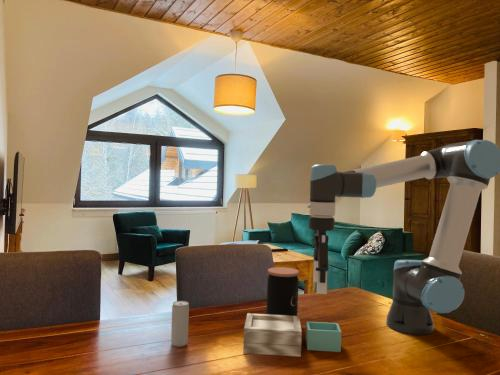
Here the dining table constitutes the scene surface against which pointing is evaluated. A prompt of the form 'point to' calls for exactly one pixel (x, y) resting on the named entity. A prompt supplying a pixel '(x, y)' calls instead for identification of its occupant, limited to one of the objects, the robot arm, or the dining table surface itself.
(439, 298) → the robot arm
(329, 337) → the teal crate
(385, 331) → the dining table surface
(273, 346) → the beige crate
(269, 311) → the coffee jar
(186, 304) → the beverage can
